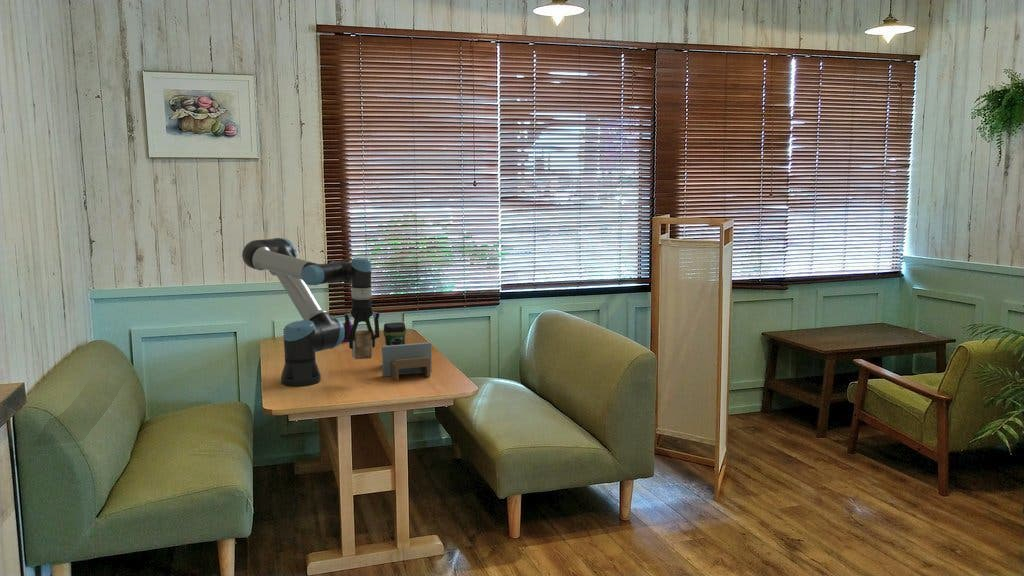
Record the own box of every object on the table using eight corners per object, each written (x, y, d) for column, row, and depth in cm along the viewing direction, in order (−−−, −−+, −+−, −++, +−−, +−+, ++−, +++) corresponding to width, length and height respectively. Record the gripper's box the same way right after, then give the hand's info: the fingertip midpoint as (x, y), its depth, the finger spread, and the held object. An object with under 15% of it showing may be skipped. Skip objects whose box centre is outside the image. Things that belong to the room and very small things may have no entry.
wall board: (388, 381, 308) (387, 351, 306) (382, 375, 317) (381, 346, 316) (437, 376, 315) (437, 347, 313) (430, 370, 325) (429, 342, 323)
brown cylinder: (356, 359, 303) (355, 334, 301) (353, 355, 308) (352, 330, 307) (371, 358, 305) (371, 333, 303) (368, 354, 311) (367, 330, 309)
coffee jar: (405, 362, 340) (404, 320, 337) (408, 366, 332) (407, 323, 330) (382, 364, 337) (381, 321, 334) (386, 368, 329) (384, 324, 327)
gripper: (338, 300, 296) (339, 360, 300) (387, 298, 303) (388, 356, 307) (335, 297, 303) (336, 355, 306) (383, 295, 310) (383, 352, 313)
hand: (362, 356), depth 307 cm, fingers closed on brown cylinder, 6 cm apart
